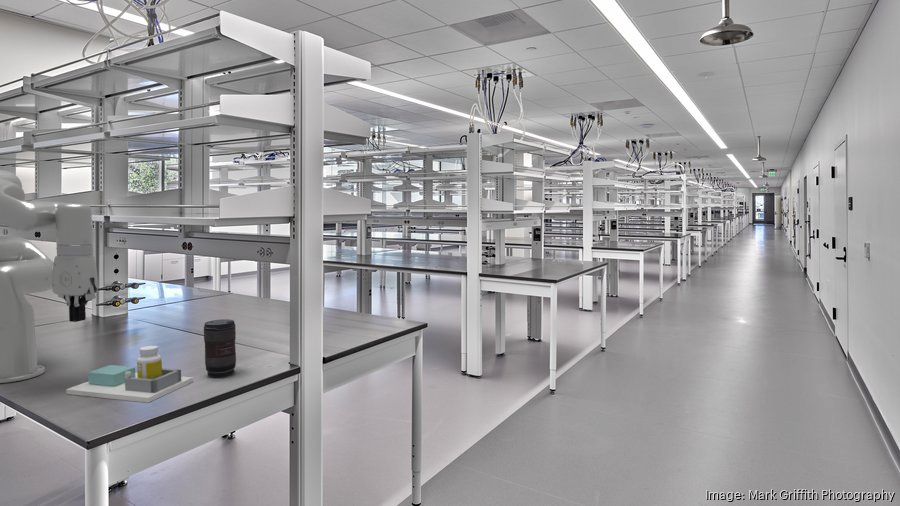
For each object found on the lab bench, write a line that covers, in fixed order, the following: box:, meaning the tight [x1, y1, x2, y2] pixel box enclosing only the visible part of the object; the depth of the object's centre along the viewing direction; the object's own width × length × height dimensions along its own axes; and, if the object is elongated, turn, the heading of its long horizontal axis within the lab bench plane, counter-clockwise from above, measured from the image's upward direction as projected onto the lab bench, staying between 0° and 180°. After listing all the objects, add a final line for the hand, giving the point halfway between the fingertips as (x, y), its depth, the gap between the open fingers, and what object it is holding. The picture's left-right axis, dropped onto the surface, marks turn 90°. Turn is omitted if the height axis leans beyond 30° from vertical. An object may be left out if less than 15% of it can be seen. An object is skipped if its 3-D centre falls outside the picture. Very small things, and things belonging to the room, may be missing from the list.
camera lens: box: [203, 318, 237, 379], centre depth 140 cm, size 8×8×15 cm
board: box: [65, 367, 194, 404], centre depth 129 cm, size 24×15×6 cm, turn 78°
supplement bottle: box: [136, 345, 163, 379], centre depth 128 cm, size 5×5×10 cm
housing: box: [87, 364, 136, 386], centre depth 131 cm, size 8×6×3 cm
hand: (77, 320), depth 132 cm, fingers closed
